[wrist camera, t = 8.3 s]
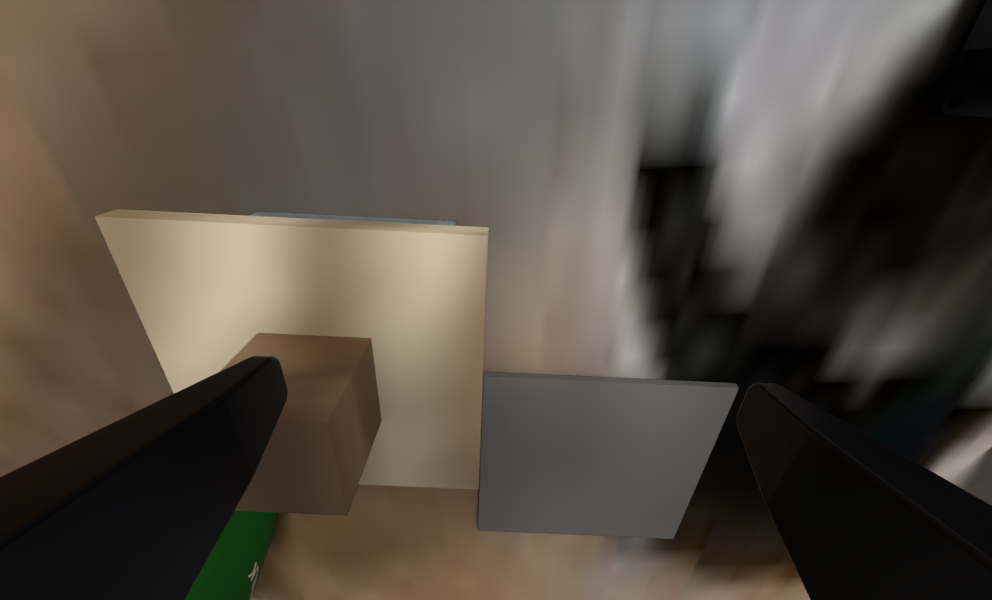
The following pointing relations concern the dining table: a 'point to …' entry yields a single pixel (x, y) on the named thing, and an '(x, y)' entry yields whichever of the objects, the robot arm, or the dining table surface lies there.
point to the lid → (324, 340)
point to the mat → (594, 452)
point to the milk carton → (236, 558)
